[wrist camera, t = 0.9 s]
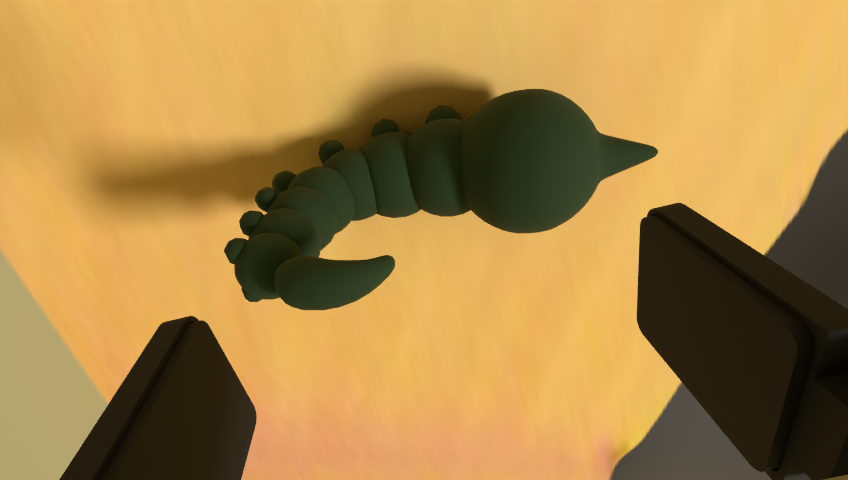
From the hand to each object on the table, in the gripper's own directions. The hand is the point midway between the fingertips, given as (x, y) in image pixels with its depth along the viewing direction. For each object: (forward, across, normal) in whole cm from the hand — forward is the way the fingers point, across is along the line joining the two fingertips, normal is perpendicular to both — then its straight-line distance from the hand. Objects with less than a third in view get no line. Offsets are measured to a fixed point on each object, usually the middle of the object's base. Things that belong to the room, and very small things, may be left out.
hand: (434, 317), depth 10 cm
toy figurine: (+27, -3, +5) cm, 28 cm away
